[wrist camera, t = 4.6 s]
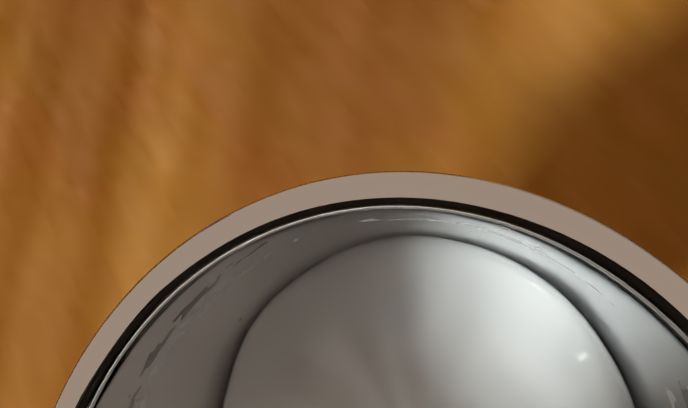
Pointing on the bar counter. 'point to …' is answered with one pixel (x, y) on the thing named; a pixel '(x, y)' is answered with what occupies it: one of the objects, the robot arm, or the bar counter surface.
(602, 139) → the bar counter surface
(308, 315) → the beer glass
